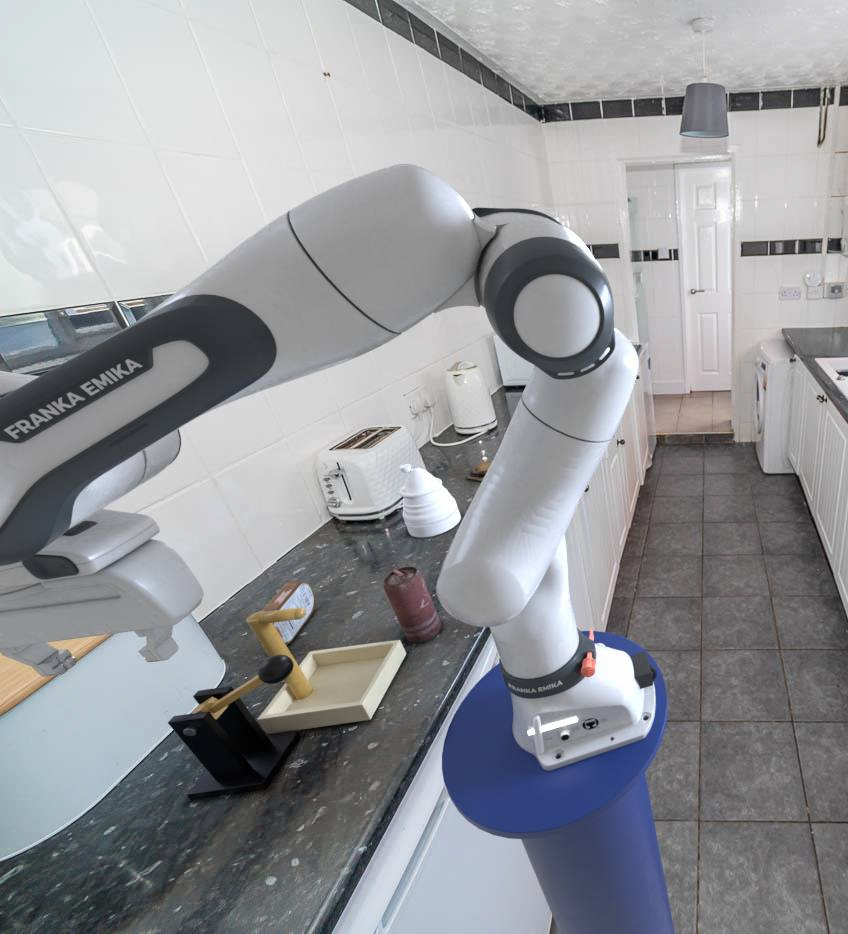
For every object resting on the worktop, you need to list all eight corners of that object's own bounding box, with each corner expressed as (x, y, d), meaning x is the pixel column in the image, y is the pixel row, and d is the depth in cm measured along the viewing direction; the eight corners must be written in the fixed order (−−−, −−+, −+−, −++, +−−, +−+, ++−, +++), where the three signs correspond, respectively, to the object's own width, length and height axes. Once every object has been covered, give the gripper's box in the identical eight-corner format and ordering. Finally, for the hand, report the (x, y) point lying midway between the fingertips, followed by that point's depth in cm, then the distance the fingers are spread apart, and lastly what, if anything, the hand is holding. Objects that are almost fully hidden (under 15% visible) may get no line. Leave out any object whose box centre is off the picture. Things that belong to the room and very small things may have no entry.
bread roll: (484, 482, 151) (481, 472, 150) (465, 479, 154) (462, 468, 153) (509, 468, 160) (506, 458, 158) (490, 464, 163) (487, 455, 161)
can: (427, 617, 98) (404, 561, 92) (448, 625, 95) (426, 569, 89) (399, 638, 93) (372, 581, 87) (421, 648, 90) (395, 589, 84)
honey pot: (405, 542, 123) (380, 480, 115) (412, 518, 134) (389, 459, 126) (459, 529, 127) (439, 468, 119) (462, 507, 138) (443, 449, 130)
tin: (307, 604, 104) (290, 573, 100) (324, 601, 104) (307, 570, 101) (267, 658, 91) (245, 625, 87) (285, 655, 91) (265, 621, 87)
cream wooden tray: (406, 653, 90) (400, 639, 88) (370, 719, 77) (362, 704, 76) (318, 665, 88) (309, 651, 87) (267, 734, 76) (256, 719, 75)
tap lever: (305, 659, 67) (282, 644, 65) (289, 681, 63) (264, 666, 62) (222, 712, 69) (198, 698, 67) (202, 735, 66) (176, 722, 64)
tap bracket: (301, 736, 76) (260, 674, 69) (266, 788, 68) (217, 724, 62) (233, 746, 75) (185, 684, 69) (190, 800, 68) (133, 736, 61)
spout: (351, 684, 84) (306, 603, 76) (344, 696, 82) (297, 613, 74) (302, 691, 83) (252, 609, 75) (293, 703, 81) (240, 620, 73)
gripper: (-177, 588, 38) (-43, 707, 44) (104, 554, 39) (196, 674, 45) (-71, 542, 43) (34, 653, 49) (172, 514, 45) (245, 625, 51)
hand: (113, 663), depth 47 cm, fingers open, 8 cm apart
